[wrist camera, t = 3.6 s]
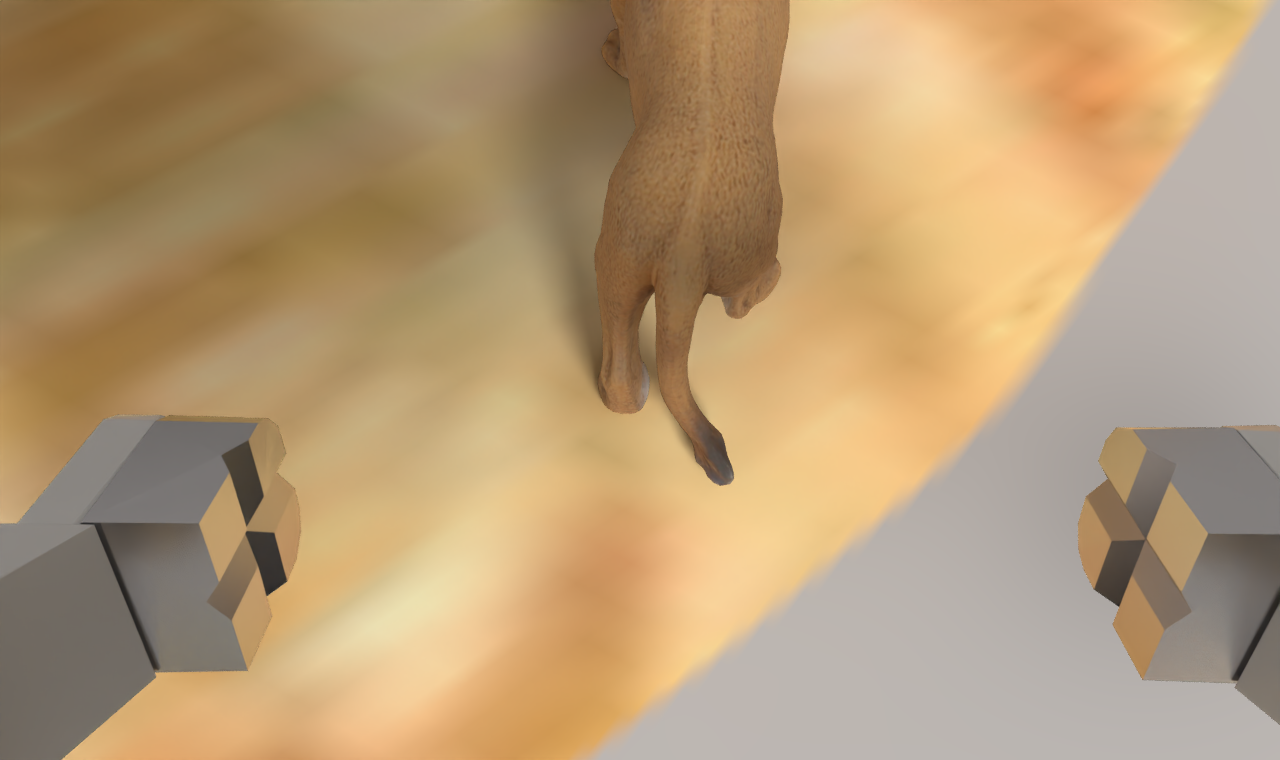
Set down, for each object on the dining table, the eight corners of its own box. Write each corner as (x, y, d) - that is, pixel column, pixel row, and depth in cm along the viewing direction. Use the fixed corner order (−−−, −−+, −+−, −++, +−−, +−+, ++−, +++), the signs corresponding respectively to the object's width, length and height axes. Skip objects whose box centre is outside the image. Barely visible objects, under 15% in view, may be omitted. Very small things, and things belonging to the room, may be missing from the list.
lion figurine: (531, -92, 23) (467, -494, 15) (745, -117, 24) (809, -531, 15) (607, 502, 20) (584, 449, 12) (851, 470, 21) (1009, 392, 12)
